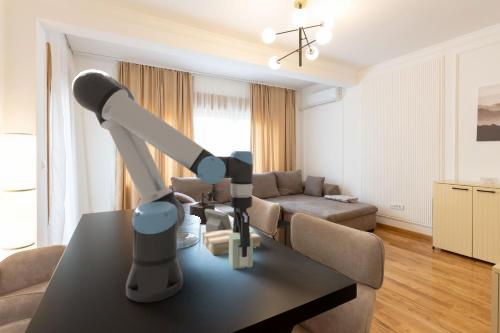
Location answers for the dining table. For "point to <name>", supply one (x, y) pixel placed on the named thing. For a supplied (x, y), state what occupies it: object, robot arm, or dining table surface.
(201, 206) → the dark brown irregular piece
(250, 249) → the sage block
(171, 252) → the robot arm
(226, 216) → the digital clock
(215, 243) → the birch box
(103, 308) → the dining table surface
